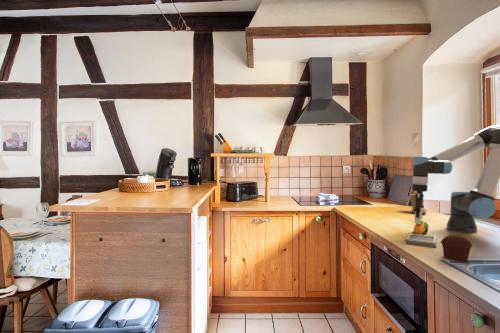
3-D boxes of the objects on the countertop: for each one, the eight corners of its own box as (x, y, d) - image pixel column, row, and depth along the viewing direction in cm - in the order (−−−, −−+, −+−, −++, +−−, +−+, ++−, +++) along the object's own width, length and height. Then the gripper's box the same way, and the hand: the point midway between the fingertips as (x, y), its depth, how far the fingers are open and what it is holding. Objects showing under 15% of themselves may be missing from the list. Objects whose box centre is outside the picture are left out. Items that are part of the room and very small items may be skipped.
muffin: (439, 259, 135) (440, 236, 134) (440, 252, 144) (441, 231, 144) (472, 265, 128) (473, 241, 128) (471, 257, 137) (472, 235, 137)
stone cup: (409, 210, 246) (410, 191, 245) (426, 212, 240) (427, 192, 239) (408, 213, 233) (408, 194, 232) (426, 215, 227) (426, 195, 226)
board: (436, 240, 164) (436, 236, 163) (435, 247, 151) (435, 243, 151) (409, 236, 171) (409, 232, 170) (406, 243, 158) (406, 239, 158)
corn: (429, 218, 181) (426, 225, 164) (429, 231, 181) (427, 239, 164) (414, 218, 185) (410, 224, 168) (415, 230, 185) (411, 238, 168)
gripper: (414, 181, 187) (413, 216, 188) (410, 185, 166) (408, 224, 167) (428, 182, 183) (427, 218, 184) (426, 186, 162) (424, 226, 163)
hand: (418, 221), depth 175 cm, fingers open, 13 cm apart
